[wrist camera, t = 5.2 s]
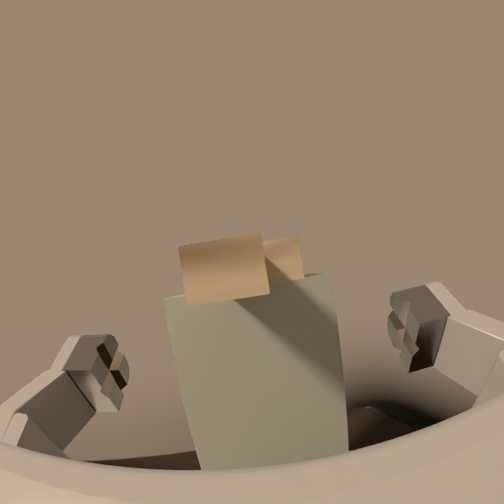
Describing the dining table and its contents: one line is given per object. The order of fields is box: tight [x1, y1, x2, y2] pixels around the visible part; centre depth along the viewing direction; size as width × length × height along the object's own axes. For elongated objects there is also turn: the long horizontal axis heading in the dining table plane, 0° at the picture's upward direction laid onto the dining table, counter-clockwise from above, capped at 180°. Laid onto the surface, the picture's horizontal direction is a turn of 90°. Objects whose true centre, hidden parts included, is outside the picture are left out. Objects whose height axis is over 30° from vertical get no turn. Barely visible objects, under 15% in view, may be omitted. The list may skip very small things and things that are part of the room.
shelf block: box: [163, 273, 349, 470], centre depth 22 cm, size 10×9×26 cm
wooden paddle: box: [179, 233, 304, 306], centre depth 19 cm, size 18×7×2 cm, turn 178°
